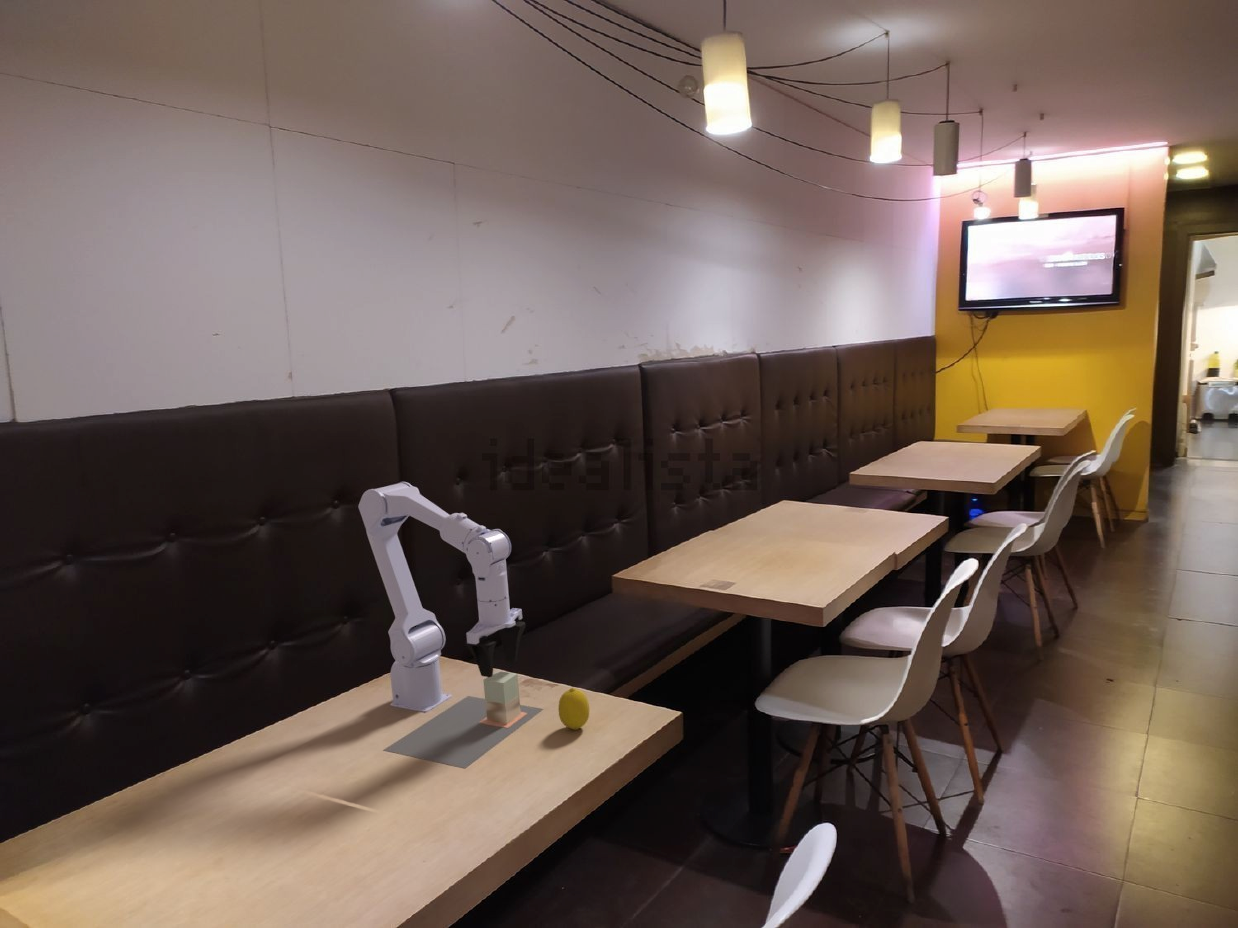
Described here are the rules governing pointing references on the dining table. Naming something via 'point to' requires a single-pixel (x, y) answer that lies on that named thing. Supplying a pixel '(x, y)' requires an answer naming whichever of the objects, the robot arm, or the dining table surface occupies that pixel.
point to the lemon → (573, 709)
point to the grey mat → (459, 734)
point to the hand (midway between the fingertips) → (499, 668)
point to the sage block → (501, 687)
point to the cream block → (503, 711)
